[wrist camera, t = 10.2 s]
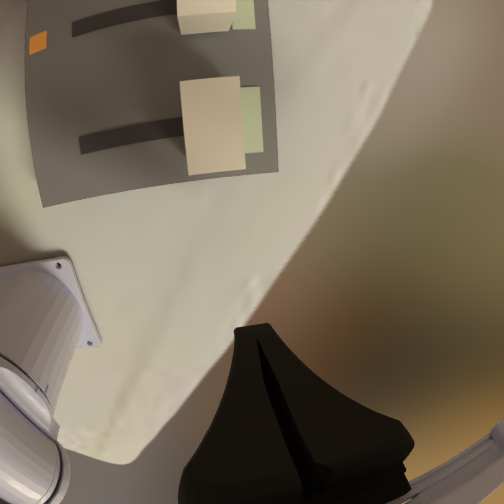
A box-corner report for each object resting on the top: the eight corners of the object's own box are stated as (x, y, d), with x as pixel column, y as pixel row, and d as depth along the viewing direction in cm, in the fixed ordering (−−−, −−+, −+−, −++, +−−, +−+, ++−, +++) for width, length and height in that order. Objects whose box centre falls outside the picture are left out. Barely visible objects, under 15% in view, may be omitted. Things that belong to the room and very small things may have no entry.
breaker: (190, 163, 15) (188, 175, 12) (183, 88, 13) (179, 81, 10) (236, 158, 15) (245, 169, 12) (231, 83, 14) (239, 75, 11)
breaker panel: (56, 198, 16) (42, 208, 15) (52, -57, 8) (41, -67, 6) (270, 166, 18) (278, 172, 16) (250, -92, 9) (256, -107, 8)
